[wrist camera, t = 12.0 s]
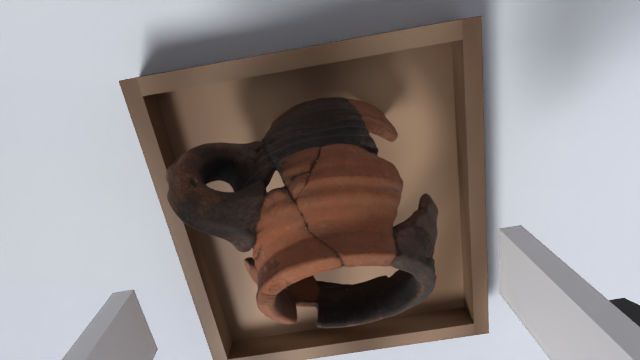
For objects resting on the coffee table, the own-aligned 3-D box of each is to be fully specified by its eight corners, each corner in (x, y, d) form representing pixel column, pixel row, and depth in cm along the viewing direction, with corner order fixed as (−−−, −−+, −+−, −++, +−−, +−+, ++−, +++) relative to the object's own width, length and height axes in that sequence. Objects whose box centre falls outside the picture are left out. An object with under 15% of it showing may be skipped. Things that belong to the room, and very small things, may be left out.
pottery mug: (443, 108, 19) (513, 256, 14) (358, 214, 26) (383, 342, 20) (192, 34, 15) (154, 206, 10) (167, 184, 21) (136, 335, 16)
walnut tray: (225, 346, 24) (217, 372, 22) (138, 77, 18) (118, 80, 17) (474, 309, 23) (488, 333, 22) (463, 18, 18) (481, 15, 16)
